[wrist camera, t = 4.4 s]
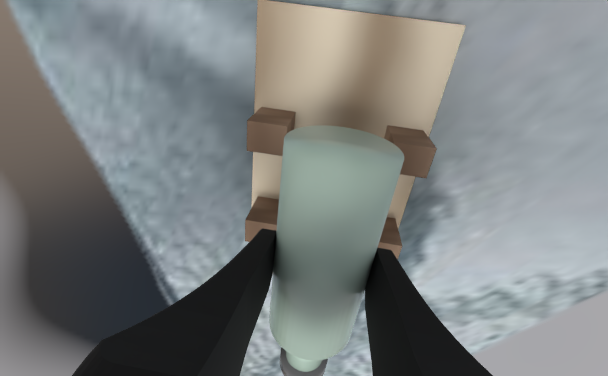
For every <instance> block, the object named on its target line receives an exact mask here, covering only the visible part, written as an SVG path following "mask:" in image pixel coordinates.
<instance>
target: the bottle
mask: <svg viewBox="0 0 608 376" xmlns="http://www.w3.org/2000/svg"><path fill="white" fill-rule="evenodd" d="M403 162H404V154H403V152H402V151H401V150H400V149H399V148H398V147H397V146H396V145H395V144H393V143H392V142H390V141H388V140H386V139H384V138H382V137H379V136H377V135H374V134H371V133H368V132H365V131H361V130H357V129H352V128H346V127H339V126H326V125H316V126H306V127H300V128H297V129H294V130H292V131H290V132H288V133H287V134H286V135H285V137H284V145H283V157H282V169H281V181H280V193H279V205H278V218H277V230H276V243H275V255H274V267H273V278H272V291H271V303H270V315H269V324H270V329H271V332H272V334H273V337H274V338H275V340H276V341H277V343H278V344H279V345H280V346H281V354H280V367H281V370H282V372H283V374H284V376H323V374H324V372H325V368H326V364H327V360H328V358H331V357H333V356H335V355H336V354H338V353H339V352H341V351H342V350H343V349H344V348H345V346H346V345H347V343H348V342H349V339H350V337H351V334H352V330H353V327H354V324H355V320H356V317H357V314H358V310H359V307H360V304H361V301H362V297H363V294H364V291H365V287H366V284H367V281H368V277H369V274H370V271H371V268H372V264H373V261H374V258H375V254H376V251H377V248H378V244H379V241H380V238H381V234H382V231H383V228H384V225H385V221H386V218H387V215H388V211H389V208H390V205H391V201H392V198H393V195H394V192H395V188H396V185H397V182H398V178H399V175H400V172H401V168H402V165H403Z"/></svg>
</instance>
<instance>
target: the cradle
mask: <svg viewBox="0 0 608 376" xmlns="http://www.w3.org/2000/svg"><path fill="white" fill-rule="evenodd" d="M465 27H466V25H460V24H452V23H444V22H436V21H428V20H420V19H412V18H404V17H396V16H388V15H380V14H372V13H364V12H356V11H348V10H340V9H332V8H324V7H316V6H308V5H300V4H292V3H284V2H276V1H268V0H258V7H257V41H256V75H255V108H254V115H252V116H251V117H250V118H249V119H248V120H247V151H252V152H253V176H252V208H251V210H250V212H249V214H248V216H247V218H246V220H245V241H248V242H250V241H251V240H252V239H253V238H254V236H255V235H256V234H257V233H258V232H259V231H260V230H261V229H262V228H264V229H270V230H277V218H278V205H279V193H280V181H281V169H282V157H283V145H284V137H285V135H286V134H287V133H288V132H290V131H292V130H294V129H297V128H300V127H306V126H316V125H326V126H339V127H346V128H352V129H357V130H361V131H365V132H368V133H371V134H374V135H377V136H379V137H382V138H384V139H386V140H388V141H390V142H392V143H393V144H395V145H396V146H397V147H398V148H399V149H400V150H401V151H402V152H403V154H404V162H403V165H402V168H401V172H400V175H399V178H398V182H397V185H396V188H395V192H394V195H393V198H392V201H391V205H390V208H389V211H388V215H387V218H386V221H385V225H384V228H383V231H382V234H381V238H380V241H379V244H378V248H383V249H389V250H392V252H393V253H394V255H395V256H396V258H397V260H398V257H399V254H400V251H401V248H402V243H401V239H400V235H399V231H398V228H399V225H400V222H401V219H402V216H403V213H404V210H405V207H406V204H407V201H408V198H409V195H410V192H411V189H412V186H413V183H414V180H415V177H421V178H427V175H428V172H429V169H430V166H431V163H432V161H433V158H434V155H435V152H436V149H437V148H436V147H435V145H434V144H433V143H432V141H431V140H430V139H429V135H430V132H431V129H432V126H433V123H434V120H435V117H436V114H437V111H438V108H439V105H440V102H441V99H442V96H443V93H444V90H445V87H446V84H447V81H448V78H449V75H450V72H451V69H452V66H453V63H454V60H455V57H456V54H457V51H458V48H459V45H460V42H461V39H462V36H463V33H464V30H465Z"/></svg>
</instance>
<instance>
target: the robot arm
mask: <svg viewBox="0 0 608 376" xmlns="http://www.w3.org/2000/svg"><path fill="white" fill-rule="evenodd" d="M275 243H276V230H270V229H264V228H262V229H261V230H260V231H259V232H258V233H257V234H256V235H255V236H254V238H253V239H252V240H251V241H250V242H249V243H248V244H247V245H246V246H245V247H244V248H243V249H242V250H241V251H240V252H239V253H238V254H237V255H236V256H235V257H234V258H233V259H232V260H231V261H230V262H229V263H228V264H227V265H226V266H224V267H223V268H222V269H221V270H220V271H219V272H218V273H216V274H215V275H214V276H213V277H211V278H210V279H209V280H208V281H206V282H205V283H204V284H202V285H201V286H200V287H198V288H197V289H195V290H194V291H193V292H191V293H190V294H188V295H187V296H185V297H184V298H182V299H181V300H179V301H177V302H176V303H174V304H173V305H171V306H169V307H168V308H166V309H164V310H163V311H160V312H159V313H157V314H155V315H153V316H152V317H150V318H148V319H146V320H144V321H142V322H141V323H138V324H136V325H134V326H132V327H130V328H128V329H126V330H123V331H121V332H119V333H117V334H115V335H113V336H110V337H108V338H106V339H103V340H102V341H101V342H100V343H99V344H98V345H97V346H96V347H95V348H94V349H93V350H92V352H91V353H90V354H89V355H88V356H87V357H86V358H85V360H84V361H83V362H82V364H81V365H80V366H79V367H78V368H77V370H76V371H75V372H74V374H73V375H72V376H240V372H241V368H242V365H243V361H244V357H245V354H246V350H247V347H248V344H249V341H250V338H251V336H252V333H253V330H254V328H255V325H256V322H257V320H258V317H259V314H260V312H261V309H262V306H263V304H264V301H265V298H266V295H267V293H268V290H269V286H270V282H271V278H272V274H273V267H274V255H275ZM365 310H366V319H367V327H368V335H369V344H370V352H371V360H372V371H373V376H493V375H491V374H490V373H489V372H488V371H487V370H486V369H485V368H484V367H483V366H482V365H481V364H480V363H479V362H478V361H477V360H476V359H475V358H474V357H473V356H472V355H471V354H470V353H469V352H468V351H467V350H466V349H465V348H464V347H463V346H462V345H461V344H460V343H459V342H458V341H457V340H456V339H455V338H454V336H453V335H452V334H451V333H450V332H449V331H448V330H447V328H446V327H445V326H444V325H443V324H442V323H441V321H440V320H439V319H438V318H437V317H436V315H435V314H434V313H433V312H432V310H431V309H430V308H429V306H428V305H427V304H426V302H425V301H424V299H423V298H422V297H421V295H420V294H419V292H418V291H417V289H416V288H415V286H414V285H413V284H412V282H411V280H410V279H409V277H408V276H407V274H406V273H405V271H404V269H403V268H402V266H401V265H400V263H399V261H398V260H397V258H396V256H395V255H394V253H393V252H392V250H389V249H383V248H377V251H376V254H375V258H374V261H373V264H372V268H371V271H370V274H369V277H368V281H367V284H366V287H365Z"/></svg>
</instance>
